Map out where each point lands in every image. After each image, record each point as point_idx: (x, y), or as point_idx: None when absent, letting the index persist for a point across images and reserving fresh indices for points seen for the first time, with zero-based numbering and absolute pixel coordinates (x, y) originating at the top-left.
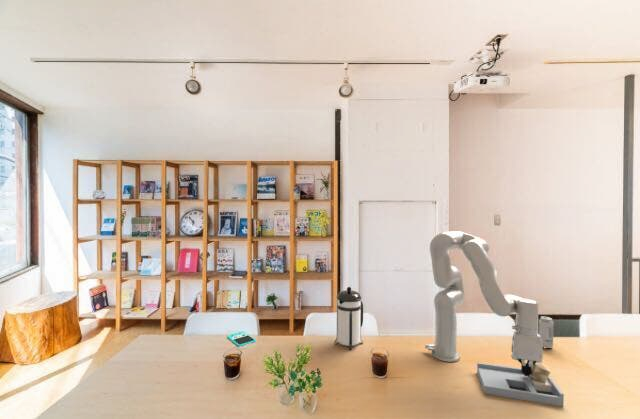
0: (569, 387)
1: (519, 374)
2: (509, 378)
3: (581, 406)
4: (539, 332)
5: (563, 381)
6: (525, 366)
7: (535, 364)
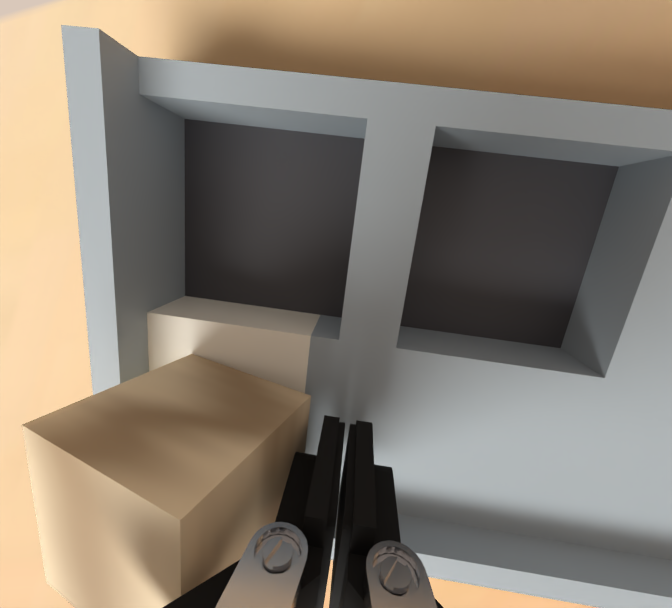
0: (30, 401)
1: None
2: (545, 393)
3: (18, 133)
4: None
5: None
6: (370, 533)
7: (177, 576)
